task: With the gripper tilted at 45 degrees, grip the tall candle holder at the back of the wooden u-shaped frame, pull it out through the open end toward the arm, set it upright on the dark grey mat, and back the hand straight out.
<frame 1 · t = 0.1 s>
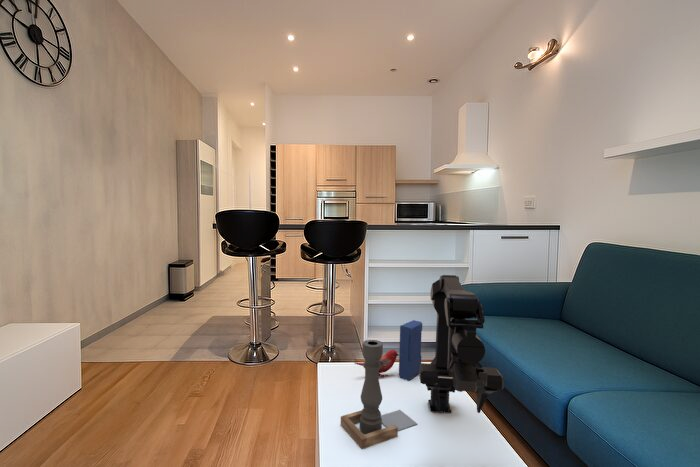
hand: (458, 410, 85), 15 cm above the table, tool pointing down, fingers open, 9 cm apart
mat: (396, 421, 106), on the table
candle holder: (370, 430, 101), on the table
wooden u-shaped frame: (370, 429, 101), on the table
electronic device: (409, 375, 137), on the table
decorative bird figurine: (376, 377, 134), on the table
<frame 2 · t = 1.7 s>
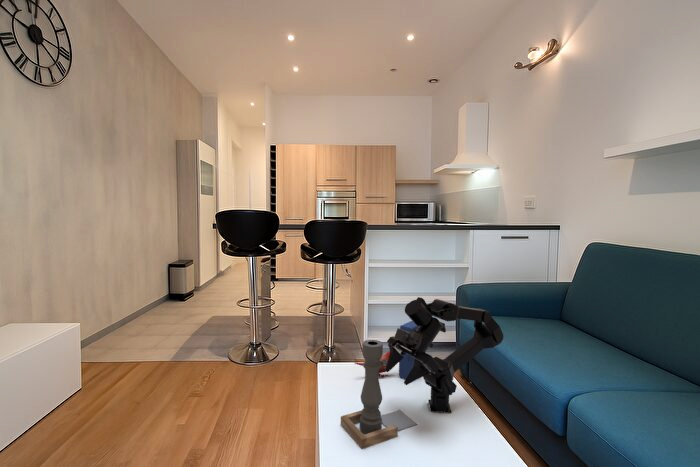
hand: (395, 377, 104), 14 cm above the table, tool tilted 45°, fingers open, 9 cm apart
nothing on the table moved.
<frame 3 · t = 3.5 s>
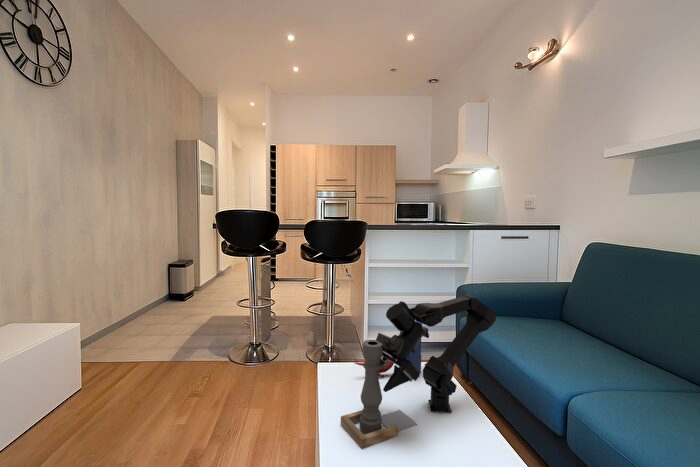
hand: (375, 383, 101), 13 cm above the table, tool tilted 45°, fingers open, 9 cm apart
nothing on the table moved.
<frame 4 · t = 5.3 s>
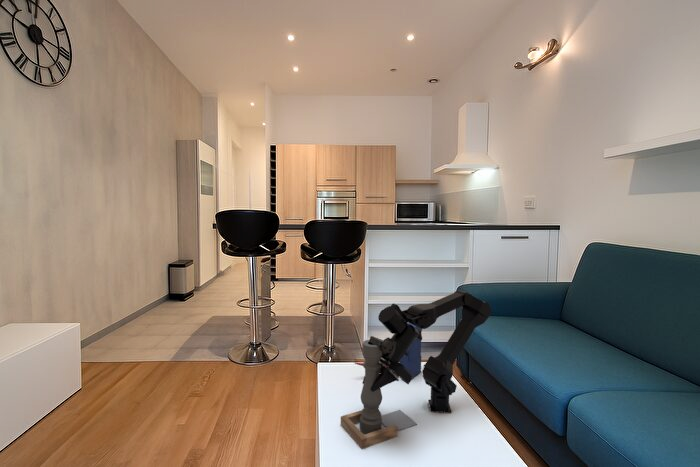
hand: (367, 387, 100), 13 cm above the table, tool tilted 45°, fingers closed on candle holder, 4 cm apart
candle holder: (370, 430, 101), on the table, touching gripper
everything else where it was.
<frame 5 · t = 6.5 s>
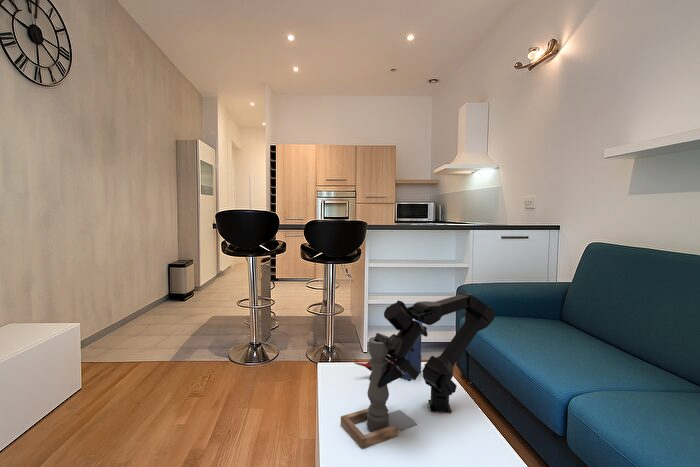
hand: (374, 383, 101), 13 cm above the table, tool tilted 45°, fingers closed on candle holder, 4 cm apart
candle holder: (377, 426, 103), on the table, touching gripper
everything else where it was.
when the fingers open (13 cm above the table, at t = 8.2 s): candle holder stays where it is, resting on mat.
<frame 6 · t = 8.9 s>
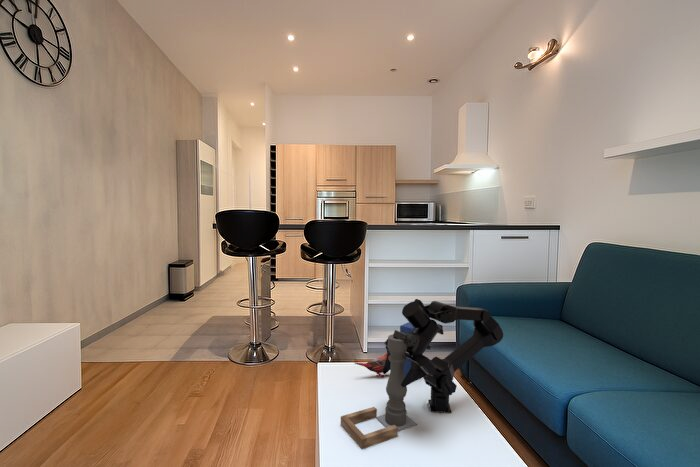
hand: (392, 379, 104), 13 cm above the table, tool tilted 45°, fingers open, 9 cm apart
candle holder: (395, 421, 106), resting on mat
everything else where it was.
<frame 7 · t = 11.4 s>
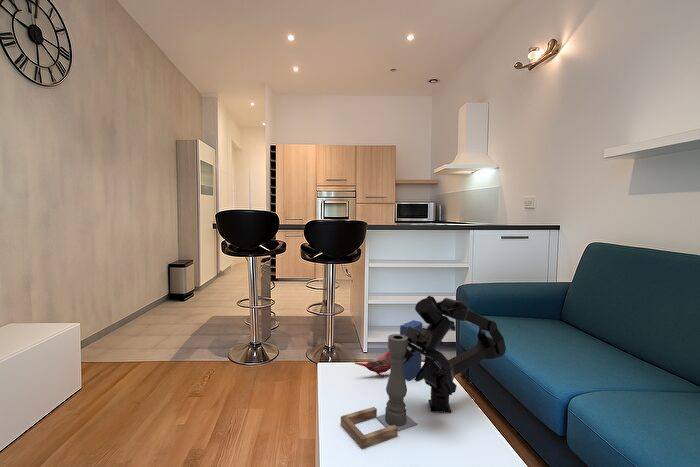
hand: (405, 374, 106), 14 cm above the table, tool tilted 45°, fingers open, 9 cm apart
nothing on the table moved.
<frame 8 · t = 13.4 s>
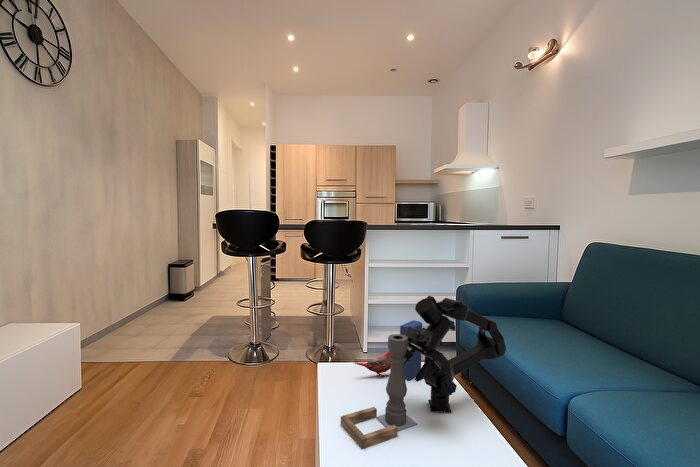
hand: (405, 374, 106), 14 cm above the table, tool tilted 45°, fingers open, 9 cm apart
nothing on the table moved.
at the end: candle holder inside the target area on the mat (0.2 cm from its centre), point 0.1 cm above the mat's base; candle holder tilted 0°; the gripper is holding nothing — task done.
